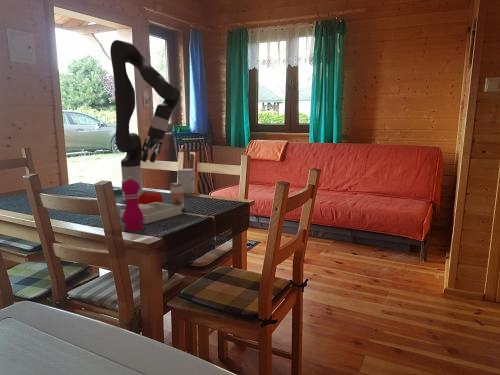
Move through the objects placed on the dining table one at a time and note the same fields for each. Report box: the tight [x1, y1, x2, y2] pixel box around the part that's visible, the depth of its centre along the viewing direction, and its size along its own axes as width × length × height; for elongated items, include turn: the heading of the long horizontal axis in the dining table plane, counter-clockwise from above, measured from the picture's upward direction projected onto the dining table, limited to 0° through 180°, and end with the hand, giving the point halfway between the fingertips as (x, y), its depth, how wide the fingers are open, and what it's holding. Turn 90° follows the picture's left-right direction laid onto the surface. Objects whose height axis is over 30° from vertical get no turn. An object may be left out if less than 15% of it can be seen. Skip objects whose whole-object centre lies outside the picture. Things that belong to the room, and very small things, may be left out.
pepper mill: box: [121, 176, 144, 232], centre depth 131 cm, size 7×7×20 cm
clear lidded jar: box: [169, 182, 185, 210], centre depth 160 cm, size 6×6×12 cm
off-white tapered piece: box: [138, 204, 157, 215], centre depth 146 cm, size 10×6×5 cm, turn 53°
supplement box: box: [177, 168, 196, 194], centre depth 203 cm, size 7×7×13 cm
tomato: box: [138, 191, 164, 205], centre depth 170 cm, size 10×11×6 cm
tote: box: [119, 202, 183, 225], centre depth 150 cm, size 16×18×4 cm
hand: (147, 161), depth 169 cm, fingers open, 8 cm apart
